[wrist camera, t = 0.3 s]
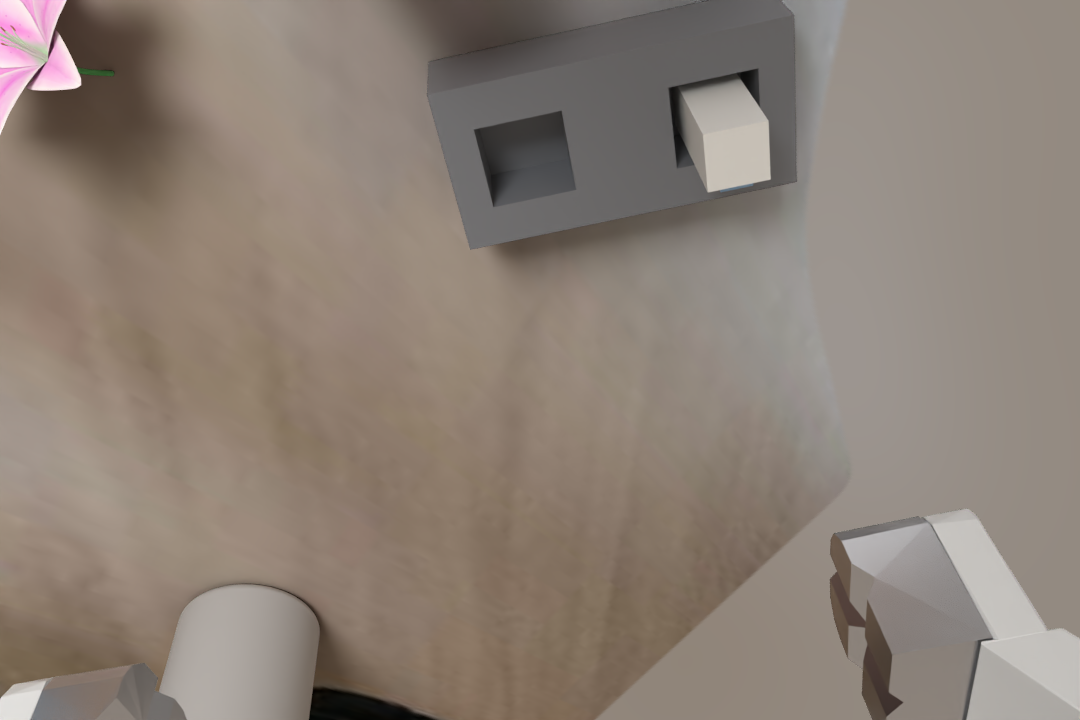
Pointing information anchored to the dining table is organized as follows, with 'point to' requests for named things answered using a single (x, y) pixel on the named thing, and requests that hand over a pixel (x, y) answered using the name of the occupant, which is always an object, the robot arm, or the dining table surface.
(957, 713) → the robot arm
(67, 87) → the lily
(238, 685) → the cylinder vase
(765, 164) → the plug
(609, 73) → the socket block
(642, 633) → the dining table surface
